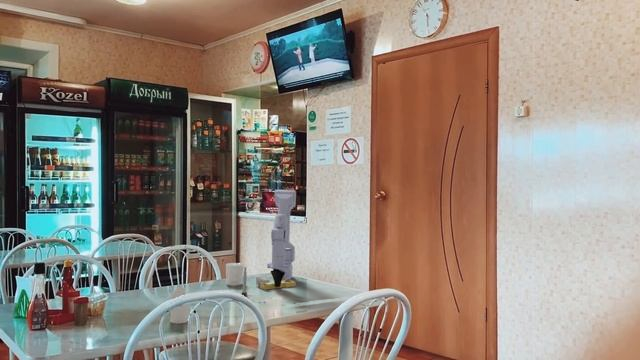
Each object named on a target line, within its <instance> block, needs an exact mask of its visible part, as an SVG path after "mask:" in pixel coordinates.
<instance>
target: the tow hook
mask: <svg viewBox="0 0 640 360" xmlns="http://www.w3.org/2000/svg"><path fill="white" fill-rule="evenodd" d="M241 288H242V289H241V292H240V293H241V294H242V295H244V296H243V297H252V296H253V295H251V294H250V295H248V292H247V288H248V287H247V267H246V266H243V278H242V287H241ZM241 294H240V295H241Z"/></svg>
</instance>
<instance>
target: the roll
mask: <svg viewBox="0 0 640 360" xmlns="http://www.w3.org/2000/svg"><path fill="white" fill-rule="evenodd" d="M185 294H187V292H186V288H185V286H183V285H180V286H179V287H177V288H176V289H175V290H174V291H173V293H172V294H171V296H170V300H171V299H174V298H176V297H179V296H181V295H185ZM189 308H190V304H186V305H183V306H181V307H178V308H176V309H174V310H172V311H171V310H170V319H169V320H170V321H169V322H170V323H171V324H175V325H176V324H177V325H178V324H185V323H188V322H187V319H188V320H189V310H190V309H189Z"/></svg>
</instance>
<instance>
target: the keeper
mask: <svg viewBox="0 0 640 360" xmlns="http://www.w3.org/2000/svg"><path fill="white" fill-rule="evenodd" d="M255 278H256V279H255V280H256V281H255V287H256V288H260V284H261V283H270V280H269V279H268V278H265V277H262V276H256V277H255Z"/></svg>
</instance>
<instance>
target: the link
mask: <svg viewBox="0 0 640 360" xmlns="http://www.w3.org/2000/svg"><path fill="white" fill-rule="evenodd" d="M296 282H297V281H294V280H292V279H290V282H285V280H282V281H281V285H280V287H275V283H274V281H269V283H261V284H260V287H259V288H260V289H261V290H271V289H280V288H294V287H296V285H297V284H296Z"/></svg>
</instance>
